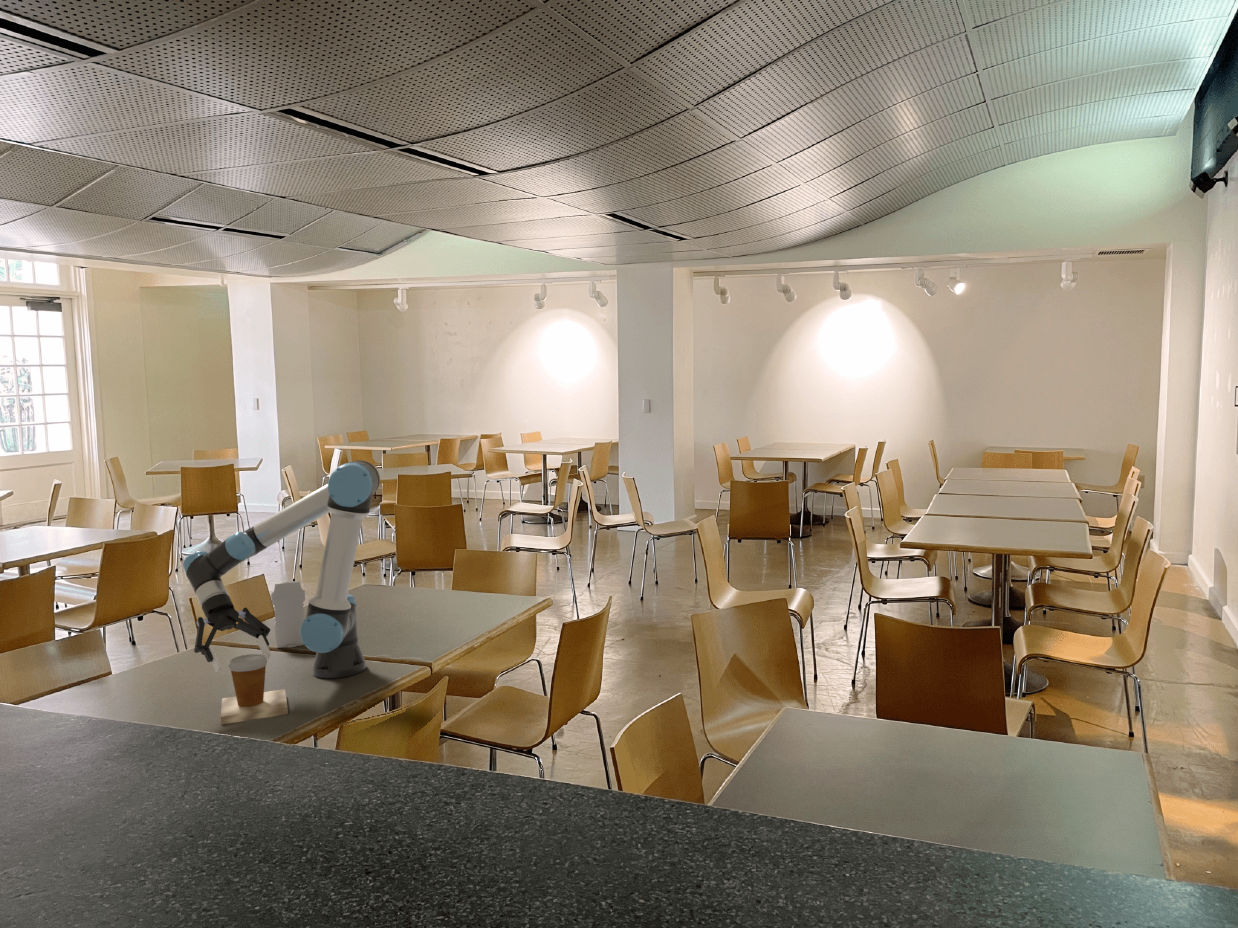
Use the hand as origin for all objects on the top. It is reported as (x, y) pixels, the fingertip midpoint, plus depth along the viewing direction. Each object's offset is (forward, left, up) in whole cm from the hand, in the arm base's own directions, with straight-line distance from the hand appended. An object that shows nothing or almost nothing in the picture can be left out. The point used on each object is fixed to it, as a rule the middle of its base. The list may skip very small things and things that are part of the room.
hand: (244, 663), depth 244 cm
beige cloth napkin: (-2, +2, -12) cm, 12 cm away
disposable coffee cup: (-1, +3, -10) cm, 11 cm away
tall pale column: (-14, -61, -12) cm, 63 cm away
